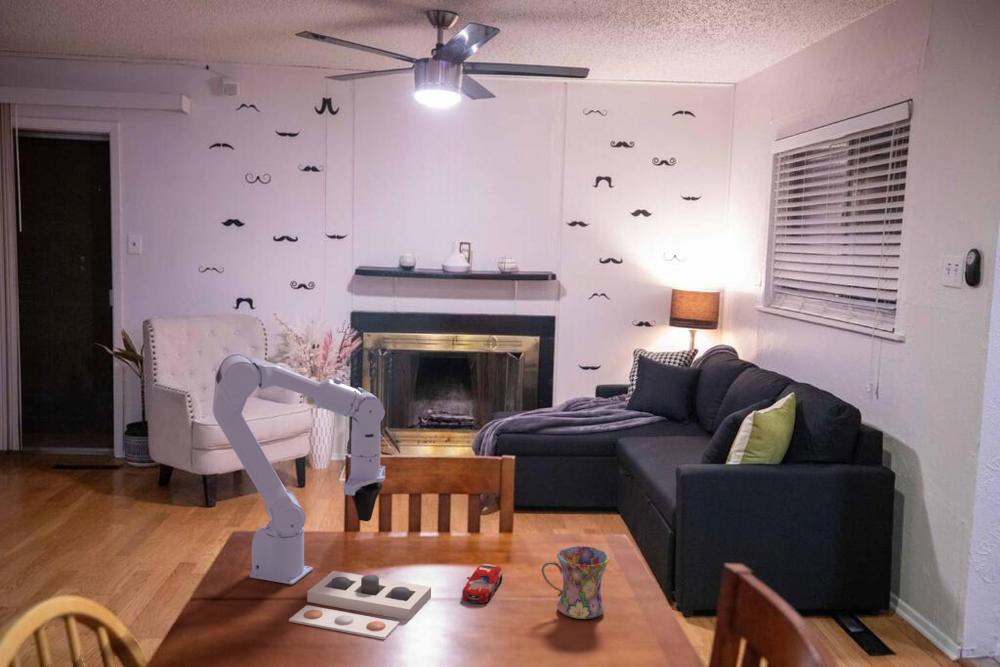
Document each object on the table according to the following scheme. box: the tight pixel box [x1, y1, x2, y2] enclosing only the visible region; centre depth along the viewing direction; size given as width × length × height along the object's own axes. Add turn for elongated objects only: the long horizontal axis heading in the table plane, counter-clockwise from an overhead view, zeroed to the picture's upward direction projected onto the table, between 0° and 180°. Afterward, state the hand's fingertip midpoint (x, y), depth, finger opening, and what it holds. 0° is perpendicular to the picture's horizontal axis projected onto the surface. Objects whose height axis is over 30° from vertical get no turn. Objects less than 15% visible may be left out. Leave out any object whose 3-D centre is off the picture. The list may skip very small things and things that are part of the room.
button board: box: [306, 570, 432, 621], centre depth 162 cm, size 20×10×2 cm, turn 73°
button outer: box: [391, 587, 409, 601], centre depth 160 cm, size 3×3×2 cm
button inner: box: [332, 577, 349, 591], centre depth 163 cm, size 3×3×2 cm
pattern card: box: [288, 604, 400, 641], centre depth 152 cm, size 18×6×1 cm, turn 73°
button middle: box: [361, 574, 380, 596], centre depth 161 cm, size 3×3×2 cm
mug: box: [541, 545, 610, 620], centre depth 159 cm, size 12×9×11 cm
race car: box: [461, 563, 503, 604], centre depth 167 cm, size 13×5×4 cm, turn 164°
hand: (364, 519), depth 176 cm, fingers closed
